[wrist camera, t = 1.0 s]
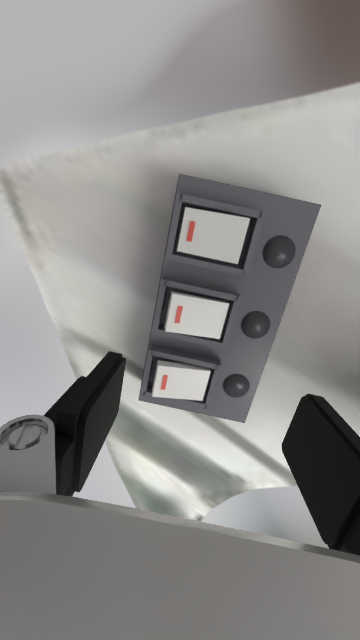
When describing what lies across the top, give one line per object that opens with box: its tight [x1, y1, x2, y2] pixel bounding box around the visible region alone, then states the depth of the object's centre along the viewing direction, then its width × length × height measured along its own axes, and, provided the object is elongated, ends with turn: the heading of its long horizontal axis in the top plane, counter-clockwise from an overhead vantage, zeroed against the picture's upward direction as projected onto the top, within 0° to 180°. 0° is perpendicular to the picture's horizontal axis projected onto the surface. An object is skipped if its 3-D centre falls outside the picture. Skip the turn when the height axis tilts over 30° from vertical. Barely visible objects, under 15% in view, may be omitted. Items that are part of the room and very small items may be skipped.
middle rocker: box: [164, 291, 229, 339], centre depth 24 cm, size 6×4×1 cm, turn 78°
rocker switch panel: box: [139, 174, 321, 423], centre depth 26 cm, size 14×26×6 cm, turn 168°
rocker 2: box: [177, 207, 250, 264], centre depth 21 cm, size 6×4×1 cm, turn 78°
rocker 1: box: [152, 360, 211, 401], centre depth 26 cm, size 6×4×1 cm, turn 78°
